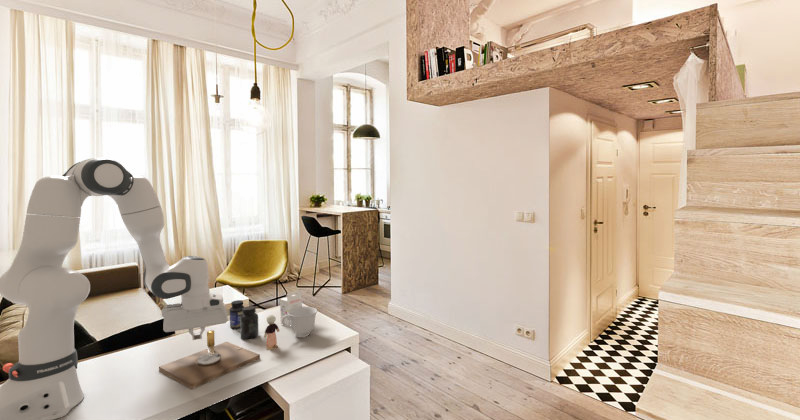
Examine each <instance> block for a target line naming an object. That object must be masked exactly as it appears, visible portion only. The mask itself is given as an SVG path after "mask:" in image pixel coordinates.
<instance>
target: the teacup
mask: <svg viewBox="0 0 800 420" xmlns="http://www.w3.org/2000/svg"><path fill="white" fill-rule="evenodd" d="M317 313H318V309H317V308H315V307H312V306H302V307H297V308H293V309H291V310H289V311H288V312H287V314H288V315H289V316H288V315H284V316H283V317H282V324H283V325H282V326H284V327H287V328H290V329H291V331H292V332H293V333H294V334H295V336H297V338H307V337H309V336H310V335H309V334H311V333H310V332H312V331H313V330H314V328H315V322H316V314H317ZM285 318H287V319H288V320H290V324H291V326H290V325H288V324H285V323H284V319H285ZM308 335H309V336H308ZM306 336H307V337H306Z"/></svg>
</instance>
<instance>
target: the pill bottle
mask: <svg viewBox="0 0 800 420" xmlns="http://www.w3.org/2000/svg"><path fill="white" fill-rule="evenodd" d="M230 305H231V307H230V309H229V327H230V329H232V330H233V329H234V330H239V329H240V317H241V315H243V308H244V307H245V306H244V301H243V300H241V299H238V300H233V301H231V304H230Z"/></svg>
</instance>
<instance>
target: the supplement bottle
mask: <svg viewBox="0 0 800 420" xmlns="http://www.w3.org/2000/svg"><path fill="white" fill-rule="evenodd" d="M256 310H257V309H256V306H253V305H250V306H248V305H247V306H244V308H243V315H241V317H240V328H239V329H240V331H239V332H240V336H239V337H240V339H241V340H244V341H250V340H253V339H256V338H258V337H259V315H258V313H257V311H256Z"/></svg>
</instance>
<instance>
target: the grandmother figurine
mask: <svg viewBox="0 0 800 420" xmlns="http://www.w3.org/2000/svg"><path fill="white" fill-rule="evenodd" d="M266 322H267V324H268V325H267V326H266V328H265V331H264V335H263V338H264V339H266V342H265V343H266V344H265V345H266V351H267V350H268V351H269V350H270V351H271V350H274V349H275V348H278V345H277V344H278V342H277V341H278V340H277V334H276V332H278V333H279V332H280V329H279V326H278V324H276V323H275V322H276V316H275V315H274V314H270V315H267V316H266Z"/></svg>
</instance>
